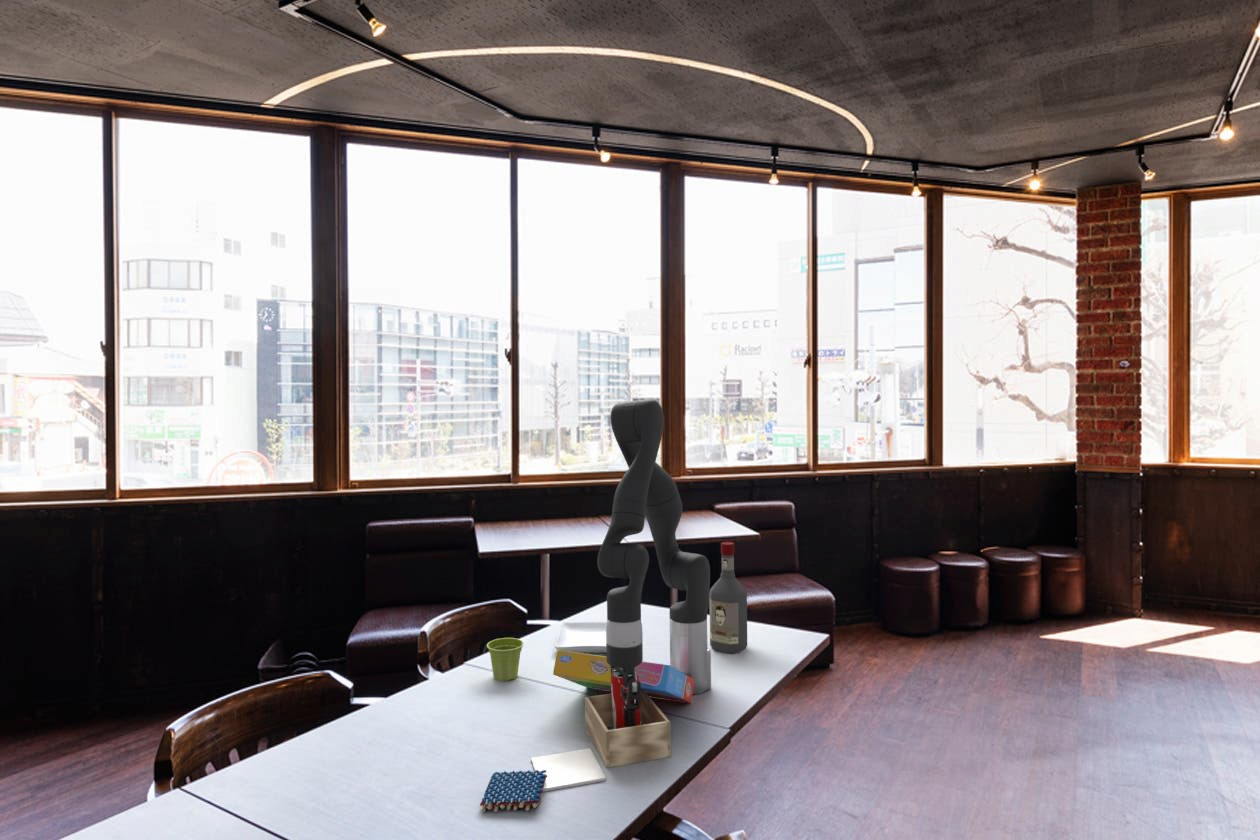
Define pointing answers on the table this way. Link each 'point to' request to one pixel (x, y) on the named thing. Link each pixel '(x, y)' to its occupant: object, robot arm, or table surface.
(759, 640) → the table surface
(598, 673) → the game box
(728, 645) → the liquor
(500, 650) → the plant pot
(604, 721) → the crate
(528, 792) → the woven mat
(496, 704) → the table surface
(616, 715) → the beverage can
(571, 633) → the salad plate
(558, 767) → the coaster
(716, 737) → the table surface
